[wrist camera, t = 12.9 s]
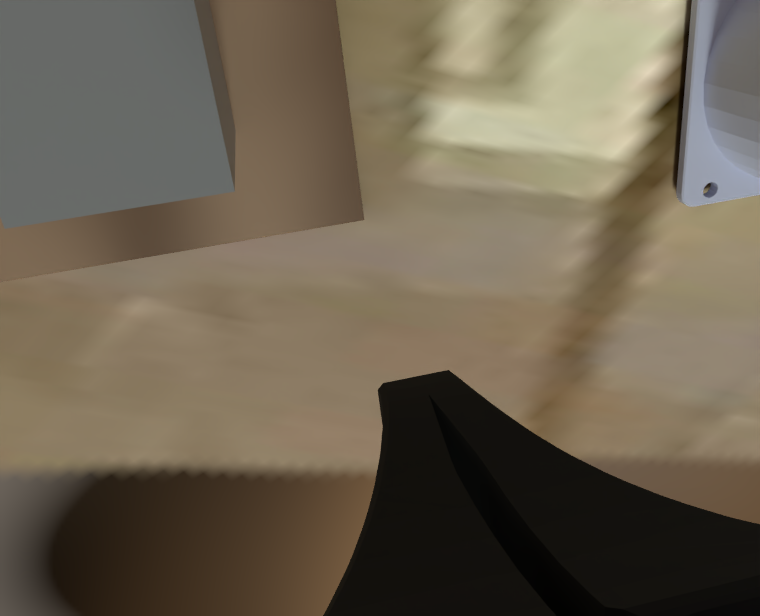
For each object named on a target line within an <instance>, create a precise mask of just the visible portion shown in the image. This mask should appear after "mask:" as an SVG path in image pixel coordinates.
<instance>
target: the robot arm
mask: <svg viewBox="0 0 760 616" xmlns="http://www.w3.org/2000/svg"><path fill="white" fill-rule="evenodd" d="M708 183H711V186H710V189H709V190H708V192H707V193H705V194H703V190H704V187H705V186H706V185H707V184H708ZM676 193H677V198H678V200H679V201H680V202H682V203H684V204H685V205H687V206H700V205H705V204H711V203H716V202H722V201H728V200H733V199H739V198H745V197H750V196H756V195H760V0H692V5H691V17H690V29H689V42H688V54H687V66H686V79H685V91H684V103H683V116H682V128H681V140H680V153H679V165H678V178H677V190H676ZM378 395H379V402H380V410H381V417H382V424H383V431H382V442H381V453H380V459H379V465H378V470H377V475H376V481H375V486H374V490H373V494H372V498H371V502H370V506H369V509H368V513H367V516H366V519H365V522H364V525H363V528H362V531H361V534H360V537H359V539H358V542H357V545H356V548H355V550H354V553H353V555H352V558H351V560H350V563H349V565H348V567H347V569H346V572H345V574H344V576H343V578H342V580H341V582H340V584H339V586H338V588H337V590H336V592H335V594H334V596H333V598H332V600H331V602H330V604H329V606H328V608H327V610H326V612H325V614H324V615H323V616H760V524H756V523H751V522H747V521H743V520H739V519H735V518H730V517H727V516H723V515H720V514H717V513H713V512H710V511H707V510H704V509H700V508H697V507H694V506H690V505H687V504H684V503H681V502H679V501H675V500H673V499H670V498H667V497H664V496H661V495H659V494H656V493H653V492H651V491H648V490H646V489H643V488H641V487H638V486H636V485H633V484H631V483H628V482H626V481H623V480H621V479H619V478H617V477H614V476H612V475H610V474H608V473H605V472H603V471H601V470H599V469H597V468H595V467H593V466H591V465H589V464H587V463H585V462H583V461H581V460H579V459H577V458H575V457H573V456H571V455H570V454H568V453H566V452H564V451H562V450H561V449H559V448H557V447H555V446H554V445H552V444H550V443H549V442H547V441H546V440H544V439H542V438H541V437H539V436H537V435H536V434H534V433H533V432H531V431H529V430H528V429H526V428H525V427H524V426H522V425H521V424H519V423H518V422H516V421H515V420H514V419H512V418H511V417H509V416H508V415H506V414H505V413H504V412H502V411H501V410H499V409H498V408H497V407H495V406H494V405H493V404H491V403H490V402H489V401H488V400H486V399H485V398H484V397H482V396H481V395H480V394H478V393H477V392H476V391H475V390H473V389H472V388H471V387H470V386H468V385H467V384H466V383H465V382H463V381H462V380H461V379H460V378H458V377H457V376H456V375H454V374H453V373H452V372H450V371H449V370H447V371H442V372H437V373H432V374H427V375H422V376H417V377H412V378H407V379H402V380H397V381H392V382H387V383H383V384H382V385H381V387H380V388H379V389H378Z"/></svg>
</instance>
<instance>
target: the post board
mask: <svg viewBox="0 0 760 616" xmlns="http://www.w3.org/2000/svg"><path fill="white" fill-rule="evenodd" d="M209 4H210V8H211V13H212V18H213V23H214V28H215V33H216V38H217V43H218V47H219V52H220V57H221V62H222V67H223V72H224V77H225V82H226V86H227V91H228V96H229V101H230V106H231V111H232V116H233V120H234V125H235V130H236V142H235V192H230V193H223V194H217V195H211V196H205V197H199V198H193V199H186V200H180V201H174V202H168V203H162V204H155V205H149V206H143V207H137V208H131V209H125V210H118V211H112V212H106V213H100V214H94V215H88V216H81V217H75V218H69V219H63V220H57V221H51V222H44V223H38V224H32V225H26V226H20V227H13V228H7V229H5V228H4V226H3V223H2V220H1V218H0V282H4V281H10V280H16V279H22V278H27V277H33V276H39V275H45V274H51V273H57V272H62V271H68V270H74V269H80V268H86V267H92V266H98V265H103V264H109V263H115V262H121V261H127V260H133V259H138V258H144V257H150V256H156V255H162V254H168V253H174V252H179V251H185V250H191V249H197V248H203V247H209V246H215V245H220V244H226V243H232V242H238V241H244V240H250V239H255V238H261V237H267V236H273V235H279V234H285V233H291V232H296V231H302V230H308V229H314V228H320V227H326V226H331V225H337V224H343V223H349V222H355V221H361V220H364V215H363V207H362V200H361V192H360V184H359V177H358V169H357V161H356V154H355V146H354V139H353V131H352V123H351V116H350V108H349V100H348V93H347V85H346V78H345V70H344V62H343V55H342V47H341V39H340V32H339V24H338V16H337V9H336V1H335V0H209Z"/></svg>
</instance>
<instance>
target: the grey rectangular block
mask: <svg viewBox="0 0 760 616" xmlns="http://www.w3.org/2000/svg"><path fill="white" fill-rule="evenodd" d="M235 142H236V130H235V125H234V120H233V116H232V111H231V106H230V101H229V96H228V91H227V86H226V82H225V77H224V72H223V67H222V62H221V57H220V52H219V47H218V43H217V38H216V33H215V28H214V23H213V18H212V13H211V8H210V4H209V0H0V218H1V220H2V223H3V226H4V228H5V229H7V228H13V227H20V226H26V225H32V224H38V223H44V222H51V221H57V220H63V219H69V218H75V217H81V216H88V215H94V214H100V213H106V212H112V211H118V210H125V209H131V208H137V207H143V206H149V205H155V204H162V203H168V202H174V201H180V200H186V199H193V198H199V197H205V196H211V195H217V194H223V193H230V192H235Z"/></svg>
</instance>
